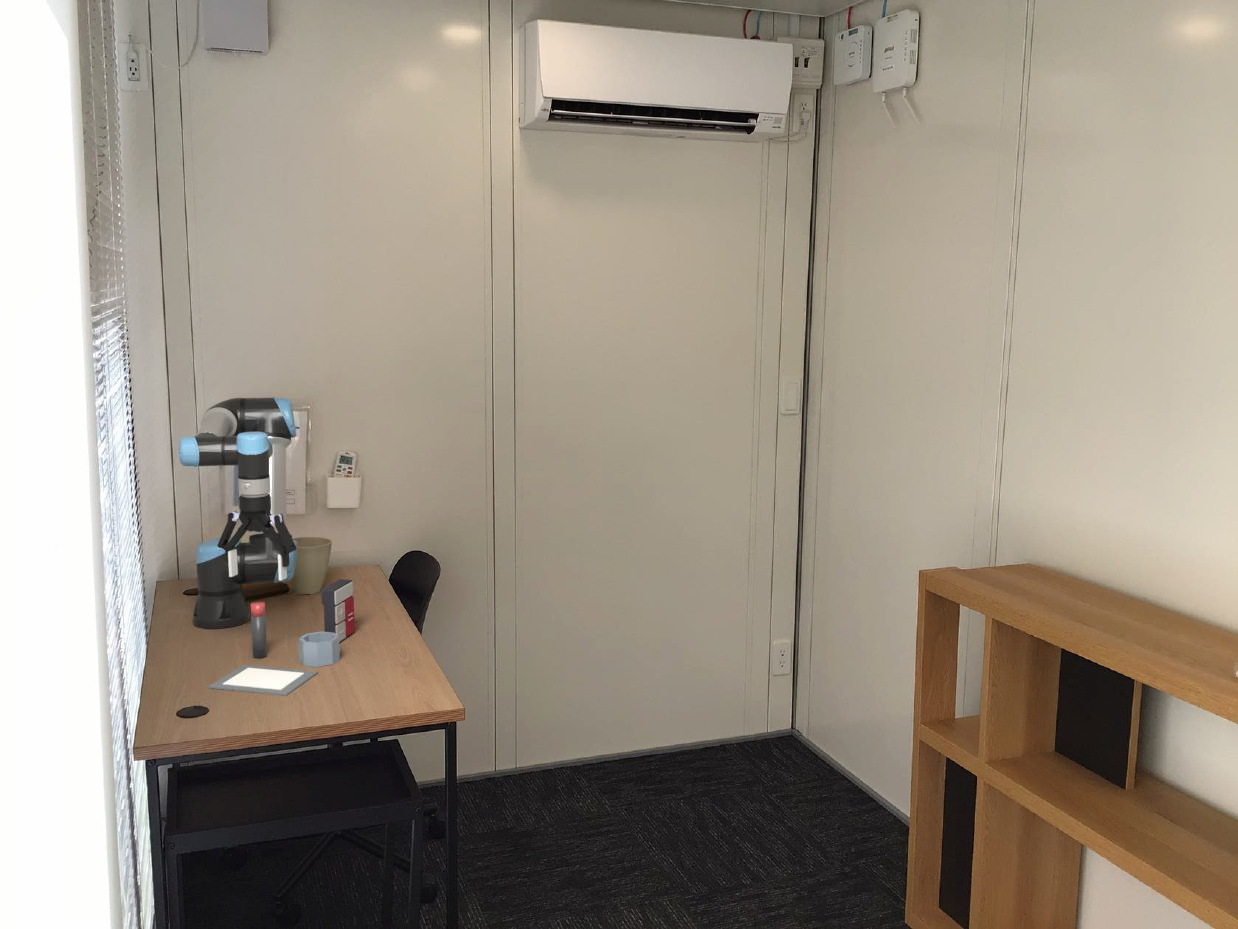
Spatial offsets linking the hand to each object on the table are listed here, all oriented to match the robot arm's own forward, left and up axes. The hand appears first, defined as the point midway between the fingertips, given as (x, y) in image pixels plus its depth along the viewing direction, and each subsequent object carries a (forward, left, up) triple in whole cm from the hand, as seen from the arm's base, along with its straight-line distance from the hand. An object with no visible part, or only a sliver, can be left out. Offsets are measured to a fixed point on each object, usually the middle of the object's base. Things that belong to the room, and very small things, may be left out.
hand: (258, 577), depth 260 cm
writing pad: (+10, -15, -21) cm, 27 cm away
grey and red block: (+13, +18, -21) cm, 30 cm away
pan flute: (-39, +51, -22) cm, 68 cm away
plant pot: (-17, +57, -21) cm, 63 cm away
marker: (0, 0, -21) cm, 21 cm away
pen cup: (+16, +1, -21) cm, 26 cm away
